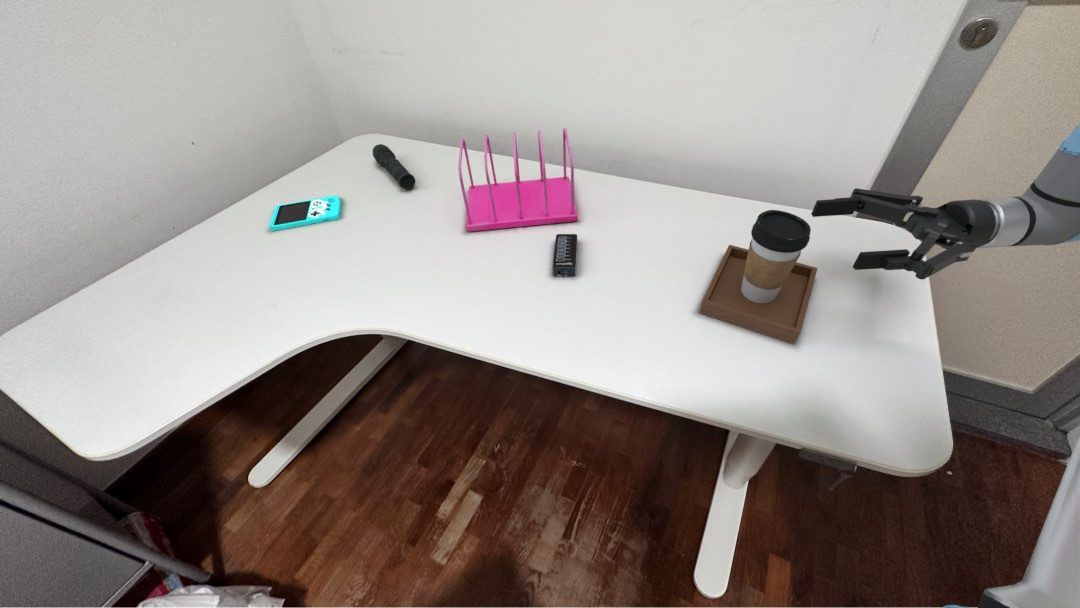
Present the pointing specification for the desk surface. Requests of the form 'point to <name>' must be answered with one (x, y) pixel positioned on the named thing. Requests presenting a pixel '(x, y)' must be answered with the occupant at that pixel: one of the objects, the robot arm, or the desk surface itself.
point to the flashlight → (393, 166)
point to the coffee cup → (773, 253)
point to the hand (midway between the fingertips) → (834, 233)
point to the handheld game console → (305, 213)
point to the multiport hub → (565, 255)
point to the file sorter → (519, 195)
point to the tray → (763, 318)
